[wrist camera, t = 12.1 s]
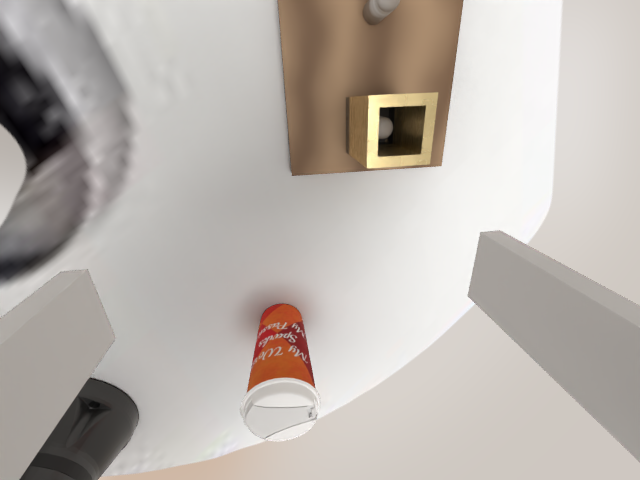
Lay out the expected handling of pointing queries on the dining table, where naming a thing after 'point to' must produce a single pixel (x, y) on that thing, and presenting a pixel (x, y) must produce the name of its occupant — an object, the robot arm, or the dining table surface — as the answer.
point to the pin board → (361, 70)
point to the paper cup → (280, 379)
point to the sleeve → (407, 135)
